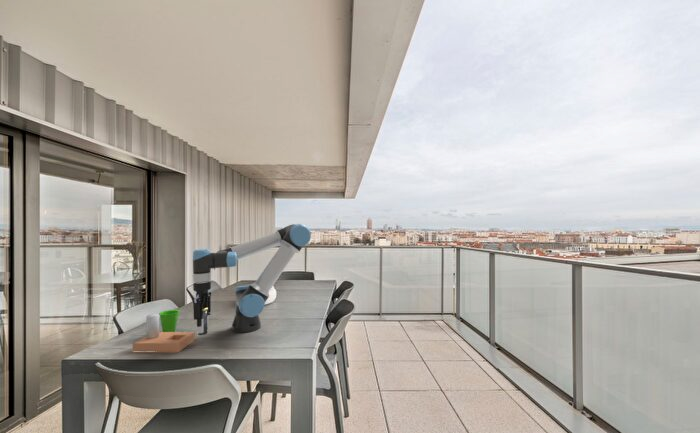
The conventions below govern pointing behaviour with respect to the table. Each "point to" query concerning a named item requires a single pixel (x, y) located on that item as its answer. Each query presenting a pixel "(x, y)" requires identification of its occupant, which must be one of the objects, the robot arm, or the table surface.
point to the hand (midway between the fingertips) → (202, 331)
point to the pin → (204, 321)
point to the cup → (169, 320)
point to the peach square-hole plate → (162, 338)
